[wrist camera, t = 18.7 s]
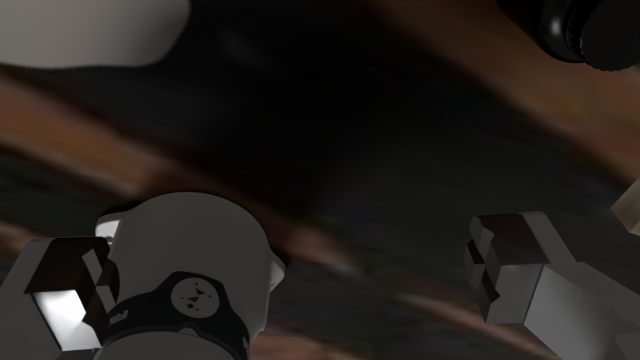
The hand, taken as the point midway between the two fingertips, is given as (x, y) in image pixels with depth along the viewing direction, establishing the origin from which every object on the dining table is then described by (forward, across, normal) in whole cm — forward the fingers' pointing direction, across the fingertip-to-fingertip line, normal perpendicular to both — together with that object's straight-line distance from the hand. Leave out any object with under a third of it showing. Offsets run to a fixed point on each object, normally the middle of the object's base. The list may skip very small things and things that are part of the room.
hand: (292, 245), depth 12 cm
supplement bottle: (+29, -18, +2) cm, 34 cm away
